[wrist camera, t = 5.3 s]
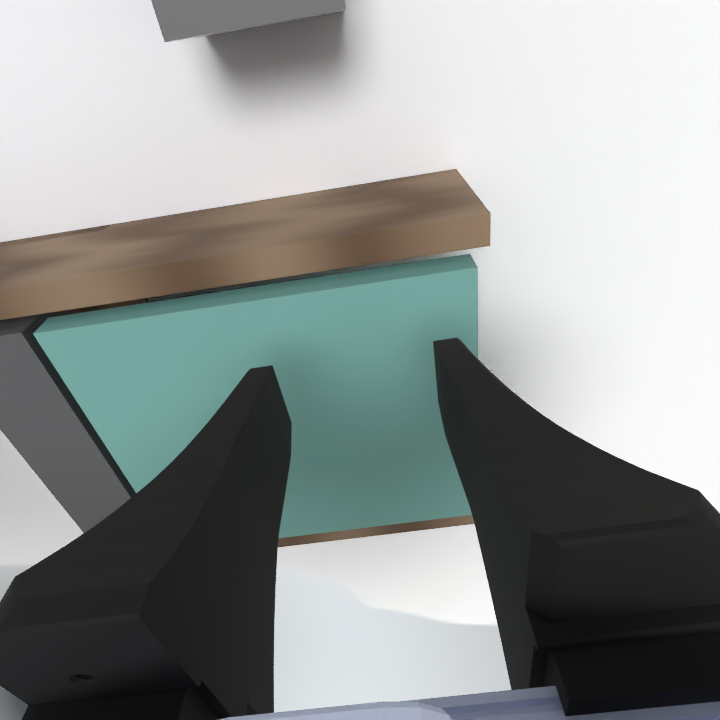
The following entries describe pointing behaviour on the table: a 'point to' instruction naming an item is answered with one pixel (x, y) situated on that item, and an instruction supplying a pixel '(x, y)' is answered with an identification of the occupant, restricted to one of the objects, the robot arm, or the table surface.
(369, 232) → the frame
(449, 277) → the trapdoor
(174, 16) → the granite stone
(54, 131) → the table surface
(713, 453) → the table surface
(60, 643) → the robot arm
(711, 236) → the table surface
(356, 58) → the table surface
